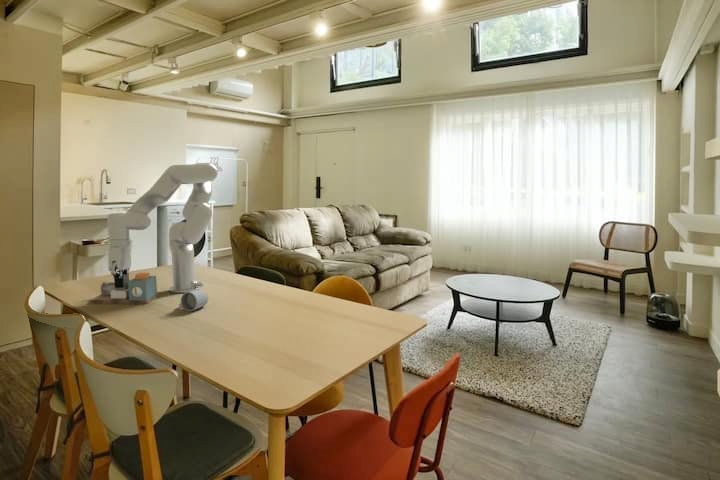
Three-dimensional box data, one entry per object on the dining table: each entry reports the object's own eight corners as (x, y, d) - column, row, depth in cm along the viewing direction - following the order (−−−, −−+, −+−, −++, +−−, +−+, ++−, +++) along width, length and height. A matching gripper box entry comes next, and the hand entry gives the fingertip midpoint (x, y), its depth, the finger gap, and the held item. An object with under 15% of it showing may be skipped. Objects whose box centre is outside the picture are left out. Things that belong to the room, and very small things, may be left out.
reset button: (149, 279, 181) (149, 272, 180) (145, 281, 177) (144, 274, 176) (139, 279, 180) (139, 272, 180) (135, 281, 176) (135, 274, 176)
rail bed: (157, 297, 185) (156, 282, 184) (146, 303, 175) (145, 287, 174) (102, 297, 184) (101, 281, 183) (89, 303, 174) (88, 287, 173)
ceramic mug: (210, 306, 172) (209, 288, 171) (197, 312, 164) (195, 293, 163) (187, 304, 175) (186, 286, 174) (174, 310, 167) (172, 291, 166)
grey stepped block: (134, 294, 183) (132, 273, 181) (125, 298, 176) (124, 277, 174) (119, 294, 182) (118, 273, 181) (111, 298, 175) (109, 277, 174)
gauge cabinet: (157, 293, 185) (156, 275, 183) (145, 300, 174) (144, 281, 173) (140, 293, 184) (139, 275, 183) (128, 300, 174) (127, 281, 173)
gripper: (120, 240, 184) (123, 281, 187) (98, 245, 168) (101, 291, 170) (138, 240, 184) (140, 281, 187) (118, 246, 168) (121, 291, 170)
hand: (122, 285), depth 178 cm, fingers closed on grey stepped block, 4 cm apart
